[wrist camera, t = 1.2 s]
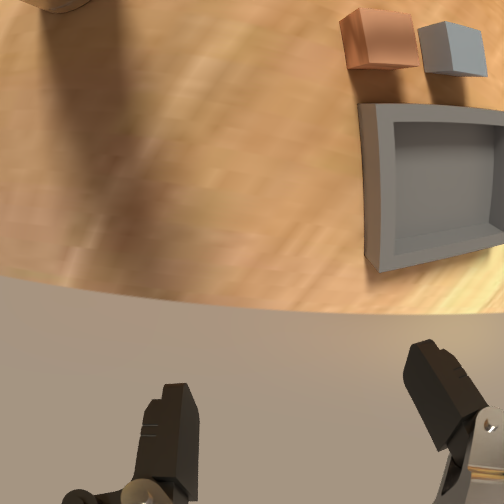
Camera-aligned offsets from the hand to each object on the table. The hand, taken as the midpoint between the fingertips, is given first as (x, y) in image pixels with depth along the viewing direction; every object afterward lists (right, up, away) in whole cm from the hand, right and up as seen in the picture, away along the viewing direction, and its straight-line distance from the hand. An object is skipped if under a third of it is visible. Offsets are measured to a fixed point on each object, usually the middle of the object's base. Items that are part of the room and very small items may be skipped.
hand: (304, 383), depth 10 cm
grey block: (+18, +26, +13) cm, 34 cm away
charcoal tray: (+19, +13, +19) cm, 30 cm away
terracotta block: (+9, +24, +13) cm, 29 cm away
